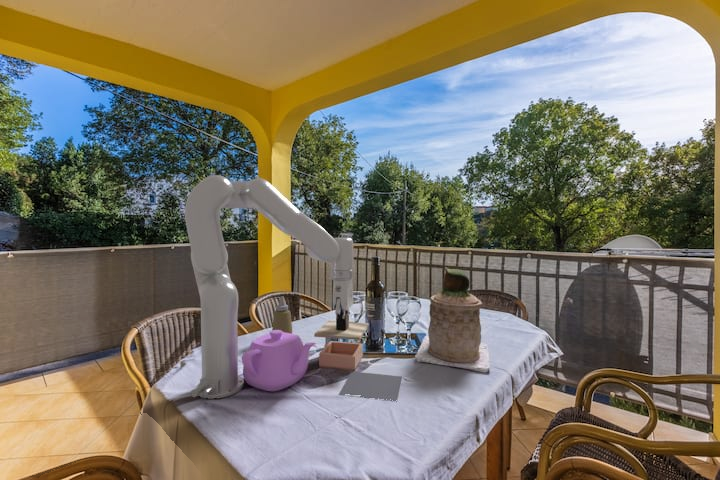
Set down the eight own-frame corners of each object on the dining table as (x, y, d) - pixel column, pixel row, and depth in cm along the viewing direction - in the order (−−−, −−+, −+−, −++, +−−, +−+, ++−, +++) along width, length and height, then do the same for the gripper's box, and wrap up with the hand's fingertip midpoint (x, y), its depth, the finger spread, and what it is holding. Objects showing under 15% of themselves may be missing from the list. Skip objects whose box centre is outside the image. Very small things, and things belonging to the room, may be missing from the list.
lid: (359, 340, 105) (359, 321, 104) (314, 336, 108) (313, 318, 108) (368, 325, 119) (368, 309, 119) (328, 322, 123) (328, 307, 122)
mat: (396, 403, 89) (396, 401, 89) (338, 396, 92) (338, 394, 92) (402, 377, 103) (402, 376, 103) (351, 372, 107) (351, 371, 107)
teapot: (223, 391, 94) (222, 338, 94) (276, 364, 113) (276, 320, 112) (284, 414, 83) (284, 354, 82) (332, 380, 101) (332, 331, 101)
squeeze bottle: (290, 344, 131) (289, 298, 130) (269, 344, 131) (269, 298, 130) (294, 337, 139) (294, 294, 138) (275, 337, 139) (274, 294, 138)
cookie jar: (491, 374, 106) (494, 273, 105) (413, 363, 114) (415, 270, 112) (488, 347, 129) (490, 264, 128) (423, 340, 137) (425, 262, 136)
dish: (355, 372, 107) (355, 356, 107) (319, 368, 110) (319, 353, 109) (362, 357, 119) (363, 343, 118) (330, 354, 121) (330, 340, 121)
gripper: (346, 278, 104) (347, 337, 105) (358, 271, 120) (358, 322, 121) (323, 278, 106) (324, 335, 107) (338, 270, 122) (338, 320, 123)
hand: (342, 327), depth 114 cm, fingers closed on lid, 3 cm apart
